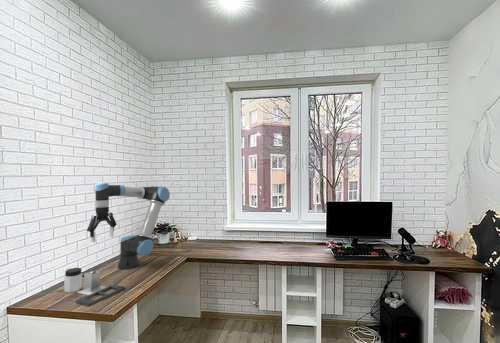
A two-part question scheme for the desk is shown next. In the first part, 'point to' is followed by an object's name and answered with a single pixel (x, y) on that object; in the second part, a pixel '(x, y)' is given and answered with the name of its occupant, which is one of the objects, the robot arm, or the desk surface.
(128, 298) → the desk surface
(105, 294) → the rack rail
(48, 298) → the desk surface
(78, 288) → the jar
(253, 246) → the desk surface
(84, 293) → the parts mat
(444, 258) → the desk surface
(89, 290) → the pale translucent bottle
